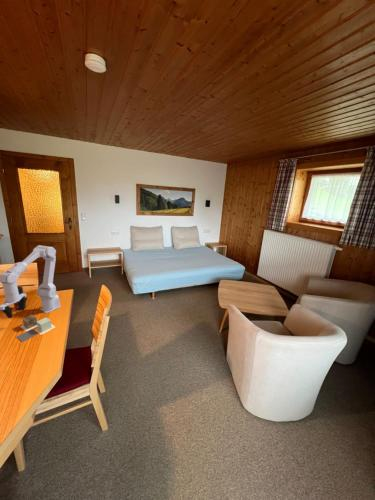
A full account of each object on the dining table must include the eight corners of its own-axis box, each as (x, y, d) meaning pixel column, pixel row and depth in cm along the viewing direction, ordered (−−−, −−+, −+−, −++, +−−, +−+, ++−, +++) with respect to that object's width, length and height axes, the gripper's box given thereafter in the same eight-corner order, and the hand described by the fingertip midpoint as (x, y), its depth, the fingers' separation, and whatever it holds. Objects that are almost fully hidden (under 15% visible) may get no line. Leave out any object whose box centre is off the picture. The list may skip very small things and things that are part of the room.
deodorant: (28, 306, 136) (24, 287, 131) (18, 311, 130) (14, 291, 126) (22, 304, 137) (18, 285, 133) (12, 309, 132) (8, 289, 128)
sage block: (47, 324, 120) (46, 317, 118) (51, 327, 117) (50, 320, 116) (37, 329, 115) (36, 321, 114) (42, 332, 113) (41, 324, 112)
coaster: (30, 330, 114) (30, 329, 114) (37, 334, 111) (37, 334, 111) (16, 337, 109) (16, 336, 108) (22, 342, 105) (22, 341, 105)
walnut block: (33, 321, 121) (32, 314, 120) (37, 324, 119) (36, 317, 118) (23, 325, 117) (22, 318, 116) (28, 329, 115) (26, 321, 113)
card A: (35, 319, 123) (35, 319, 123) (41, 324, 120) (41, 323, 120) (19, 326, 117) (19, 326, 117) (26, 331, 113) (26, 331, 113)
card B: (48, 322, 122) (48, 322, 122) (55, 327, 118) (55, 326, 118) (33, 329, 115) (33, 329, 115) (41, 334, 111) (40, 334, 111)
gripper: (16, 286, 116) (20, 305, 120) (-9, 298, 102) (-3, 320, 106) (27, 286, 116) (31, 306, 120) (4, 299, 102) (9, 322, 106)
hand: (16, 313), depth 113 cm, fingers open, 7 cm apart
